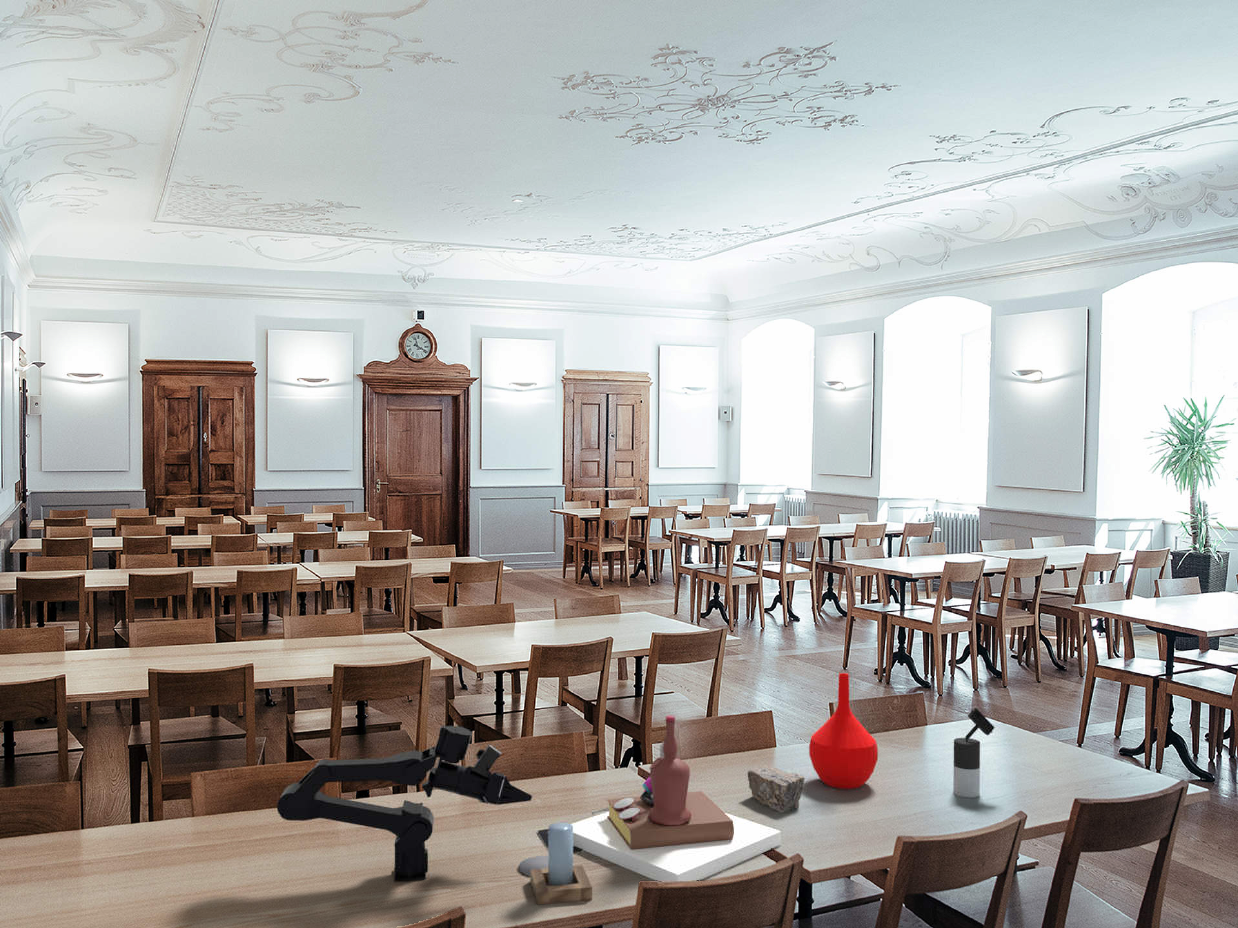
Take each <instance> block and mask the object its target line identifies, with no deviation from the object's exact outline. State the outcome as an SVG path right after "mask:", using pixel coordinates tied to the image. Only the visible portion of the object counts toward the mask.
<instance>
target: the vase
mask: <svg viewBox="0 0 1238 928" xmlns="http://www.w3.org/2000/svg"><path fill="white" fill-rule="evenodd" d="M849 675H850V674H849V673H846V672H840V673H838V687H837V688H838V690H837V693H838V695H837V700H838V701H837V707H836V708H835V711H834V713H833V714H832V715H831V716H830V717H829V718H828V719H827V720H826V721H825V723H824V724H823V725H821V727H820V728H819V729H817V730H816V731H815V732H814V733H813V734H812V735H811V736H810V742H809V746H808V751H809V753H808V755H809V758H810V761H811V763H812V767H813V770H814V772H815V773H816V774H817V776H818V778H819V779H820V780H821V781H822V782H823V783H824V784H825V785H827V786H829V787H831V788H834V787H835V789H840V788H841V790H854V789H858V788H860V787H862V786H863V785H864V784H866V782H868V781H869V779H870V777H871V776H872V774H873V773H874V770H875V767H876V765H877V762H878V759H879V758H878V757H879V756H878V754H879V751H878V750H879V748H878V745H877V741H876V739H875V738H874V737H873V736H872V735H871V734H870V733H869V732H868V731H867V730H866V728H865V727H864V726H863V725H862V723H861V722H860V721H859V720H858V719H857V718H856V716H855V715H854V714H853V712H852V710H851V707H850V706H851V705H850V676H849ZM853 788H854V789H853Z"/></svg>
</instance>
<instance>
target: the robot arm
mask: <svg viewBox="0 0 1238 928" xmlns="http://www.w3.org/2000/svg"><path fill="white" fill-rule="evenodd" d="M472 736H473V733H472V731H471V730H469V729H467V728H466V727H462V726H459V725H455V726H454V725H447V726H446V725H441V726H440V728H439V734H438V737H437V742H436V744H435V745H434V746H431V747H429V748H427V749H425V750H421V751H420V750H411V751H405V752H400V753H397V754H395V755H392V756H389V757H384V758H365V759H364V758H362V759H361V758H360V759H358V758H357V759H334V760H331V759H322V760H320V761H318V762H317V763H316V765H315V766H314V767H313V768H312V769H311V770H310V771H309V772H308V773H306V774H305V775H304V776H303V777H302V778H301V779H300V780H299V781H298V782H293V783H291V784H289V785H288V786H287V787H285V789H284V790H283V792H282V794H281V796H280V797H279V799H278V802H277V805H276V808H277V813H278V815H279V816H280V818H282V820H285V821H293V822H295V821H297V822H298V821H301V822H304V821H305V822H306V821H311V820H317V819H318V820H319V819H323V820H330V821H334V822H335V821H336V822H340V823H344V824H345V823H346V824H351V825H357V826H362V827H367V828H373V829H378V830H384V831H388V832H390V833H391V834H393V835H395V841H394V844H393V846H394V867H393V881H394V882H401V881H402V882H403V881H414V880H425V879H426V878H427V877H426V876H427V873H428V872H429V851H428V849H427V848H426V841H428V840H429V839H430V837H431V836H432V833H433V831H434V830H433V829H434V828H433V827H434V822H435V821H434V820H435V816H434V814H433V812H432V810H431V809H430V808H429V807H427V806H423V805H424V802H419V803H417V802H412V801H409V800H406V799H405V800H403V803H402V806H399V807H388V806H382V805H378V804H372V803H366V802H362V801H356V800H350V799H345V798H340V797H333V796H329V795H326V794H325V793H323V792H321V791H320V790H321V789H322V787H324V785H326V784H327V783H341V782H342V783H345V782H368V781H386V782H390V783H393V784H397V785H402V786H403V785H404V786H411V787H413V786H418V785H420V784H421V783H422V785H421V788H422V789H423V791H424V793H425V794H426V797H427V798H431V796H432V793H433V790H434V789H436V790H440V791H445V792H448V793H451V794H455V795H459V796H461V797H462V796H463V797H466V798H467V797H468V798H470V799H474V800H478V802H479V803H482V804H487V805H498V806H500V805H506V804H516V803H523V802H531V801H532V799H533V795H532V794H530V793H528V792H526V791H525V790H522V789H520V788H519V787H517V786H514V785H512V784H511V783H510V780H509V779H508V776H507V775H506V774H504V773H502V772H498V771H494V772H492V771H490V769H491V768H492V767H493V765H494V764H495V762H496V761H497V760H498V759H499V758H500V757H501V755H502V752H501V751H500V750H499V749H497V748H495V746H493V745H492V744H488V745H487V747H486V748H485V749H479V750H478V751H477V752H476V754H475V757H476V759H477V760H476V762H475V763H474V765H473V766H471V765H468V766H463V765H458V763H460V761H464V760H465V758H466V756H467V752H468V749H469V745H470V742H471V739H472ZM437 758H438V761H437ZM436 762H437V764H436ZM435 766H436V767H435ZM428 772H429V773H428ZM427 773H428V776H427ZM426 777H428V778H427V780H426V781H425V782H423V781H424V780H425V779H426Z"/></svg>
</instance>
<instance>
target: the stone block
mask: <svg viewBox="0 0 1238 928" xmlns="http://www.w3.org/2000/svg"><path fill="white" fill-rule="evenodd" d="M747 779H748V786H749V790H751V796H752V797H753V798H754V799H756V800H757V801H758V802H759V803H761V804H762V805H766V806H768V807H769V808H771V809H772V810H775V811H777V812H780V813H782V814H783V813H785V812H788V811H792V810H794V809H796V808H799V806H800V803H799V801H800V799H801V796H802V792H803V790H804V784H805V779H806V778H805V776H804V775H802V774H799V773H795V772H794V773H793V772H791V773H790V772H787V771H785V770H784V771H783V770H782V769H779V768H776V767H772V766H769V765H765V764H764V765H762V766H758V767H754V768H752V769H749V770H748V771H747Z"/></svg>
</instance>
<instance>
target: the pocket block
mask: <svg viewBox="0 0 1238 928" xmlns="http://www.w3.org/2000/svg"><path fill="white" fill-rule="evenodd" d="M529 882H530V885H531V887H532V892H533V895H534V899H535V901H536V904H537V905H546V904H547V905H549V904H559V903H567V902H569V903H570V902H580V901H591V900H593V886H592V883H591V881H590V880H589V877H588V875H587V873H586V870H585V869H584V866H583V865H573V884H567V885H555V886H548V868H545V869H532V870H530V876H529Z"/></svg>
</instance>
